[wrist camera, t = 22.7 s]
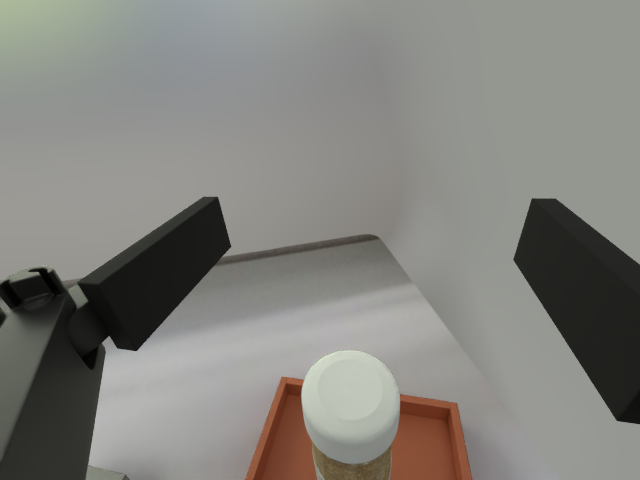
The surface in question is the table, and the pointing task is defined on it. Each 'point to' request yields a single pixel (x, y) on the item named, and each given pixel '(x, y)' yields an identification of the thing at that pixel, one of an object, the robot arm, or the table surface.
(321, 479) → the spice jar
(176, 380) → the table surface
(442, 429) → the tray
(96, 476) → the dice cube
